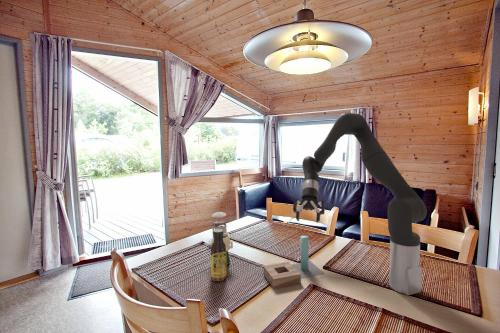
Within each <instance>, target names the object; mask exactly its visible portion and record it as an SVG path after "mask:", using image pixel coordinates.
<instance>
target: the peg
mask: <svg viewBox="0 0 500 333" xmlns="http://www.w3.org/2000/svg"><path fill="white" fill-rule="evenodd" d="M299 239H300V263H301V270H302V271H308V270H309V261H310V260H309V236H308V235H301V236H300V237H299Z"/></svg>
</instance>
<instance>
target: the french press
mask: <svg viewBox="0 0 500 333" xmlns="http://www.w3.org/2000/svg"><path fill="white" fill-rule="evenodd" d="M220 197H221V196H220V195H219V194H217V195H216V198H220ZM219 202H220V201H219V200H217V203H218V204H217V205H218V210H220V205H219V204H220V203H219ZM226 216H227V214H226V213H225V212H223V211H217V212H214V213H213V214H211V217H210V218H209V222H208V224H209V226H211V227H210V230H211V229H212V231H213V230H215V229H222V230H223V233H227V232H228V231H227V230H228V229H227V221H225V220H223V219H221V218H225V217H226ZM215 218H216V220H215ZM220 219H221V220H220ZM212 220H214V221H212ZM227 234H228V233H227ZM212 238H214V235H213V234H212ZM212 238H211V239H210V241H212Z"/></svg>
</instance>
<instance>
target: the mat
mask: <svg viewBox="0 0 500 333" xmlns="http://www.w3.org/2000/svg"><path fill="white" fill-rule="evenodd" d="M308 261H309V270H308V271H302V270H301V262H298V263H297V262H296V263H292V264H291V265H292V266H293V267H294V268H295V269H296V270H297V271H298V272H299V273H300V274H301V280H302V279H306V278H312V277H316V276H321V275H326V272H324V271H323V270H322V269H321V268H319V267H318V266H317V265H316V264H314V263H313V262H312V261H310V260H308Z"/></svg>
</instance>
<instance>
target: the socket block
mask: <svg viewBox="0 0 500 333" xmlns="http://www.w3.org/2000/svg"><path fill="white" fill-rule="evenodd" d="M262 267H263V276H264V277H265V279H266V278H267V279H266V281H268V283H269V282H270V283H269V284H270V285H271V286H270V287H272V289H274V290H276V289H280V288H286V287H290V286H294V285H299V284H302V279H301V274H300V273H299V272H298V271H297V270H296V269H295V268H294V267H293V266H292V264H291V262H289V261H284V262H278V263H273V264H267V265H263V266H262Z"/></svg>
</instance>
